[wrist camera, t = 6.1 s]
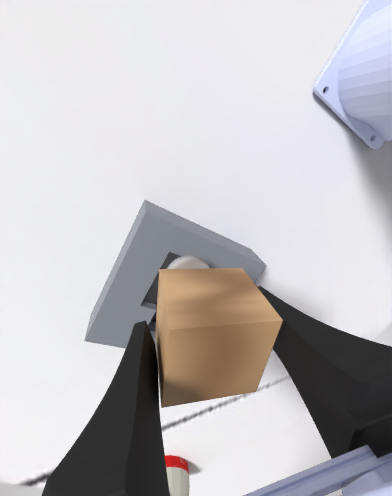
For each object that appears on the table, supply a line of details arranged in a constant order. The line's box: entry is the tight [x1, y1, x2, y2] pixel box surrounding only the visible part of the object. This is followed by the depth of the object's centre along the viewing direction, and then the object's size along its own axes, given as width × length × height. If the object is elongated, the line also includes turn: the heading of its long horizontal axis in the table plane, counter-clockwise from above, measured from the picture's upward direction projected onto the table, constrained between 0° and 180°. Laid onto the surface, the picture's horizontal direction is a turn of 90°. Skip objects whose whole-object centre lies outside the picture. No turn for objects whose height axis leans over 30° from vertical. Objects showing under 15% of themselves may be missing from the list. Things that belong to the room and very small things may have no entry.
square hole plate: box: [85, 200, 266, 353], centre depth 22 cm, size 12×13×3 cm
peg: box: [155, 255, 283, 408], centre depth 14 cm, size 5×5×8 cm
